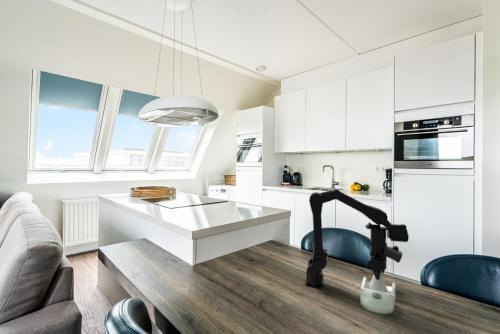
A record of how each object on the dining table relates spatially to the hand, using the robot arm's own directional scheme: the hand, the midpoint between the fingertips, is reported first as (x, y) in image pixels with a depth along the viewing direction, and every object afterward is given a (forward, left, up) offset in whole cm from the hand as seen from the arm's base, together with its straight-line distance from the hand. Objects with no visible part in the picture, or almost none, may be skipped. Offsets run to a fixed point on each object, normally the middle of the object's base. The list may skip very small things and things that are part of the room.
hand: (377, 278), depth 104 cm
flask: (0, 0, -5) cm, 5 cm away
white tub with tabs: (0, -6, -6) cm, 8 cm away
